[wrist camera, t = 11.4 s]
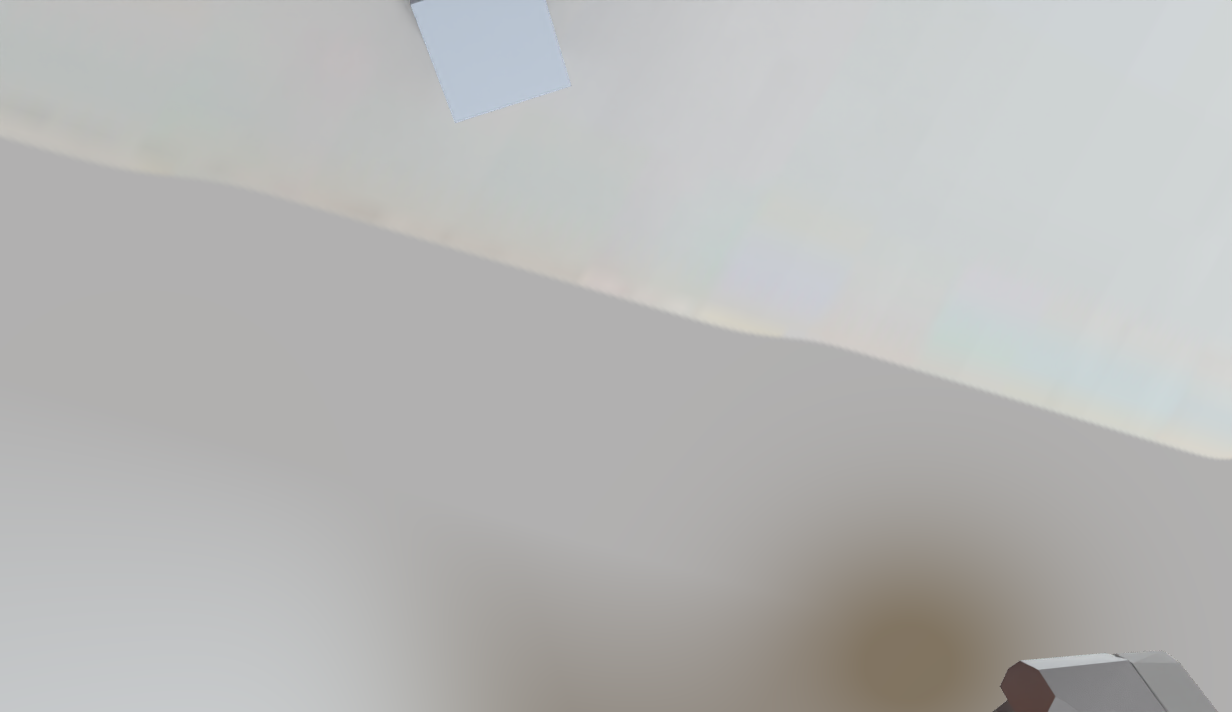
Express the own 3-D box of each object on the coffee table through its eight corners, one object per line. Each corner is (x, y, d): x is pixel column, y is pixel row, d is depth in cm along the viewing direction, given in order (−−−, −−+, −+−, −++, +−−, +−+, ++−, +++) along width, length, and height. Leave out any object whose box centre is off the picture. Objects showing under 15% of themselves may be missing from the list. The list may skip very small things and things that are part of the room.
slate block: (523, -65, 35) (534, -36, 32) (556, 47, 38) (571, 86, 34) (409, -28, 35) (410, 4, 32) (450, 82, 38) (455, 123, 34)
